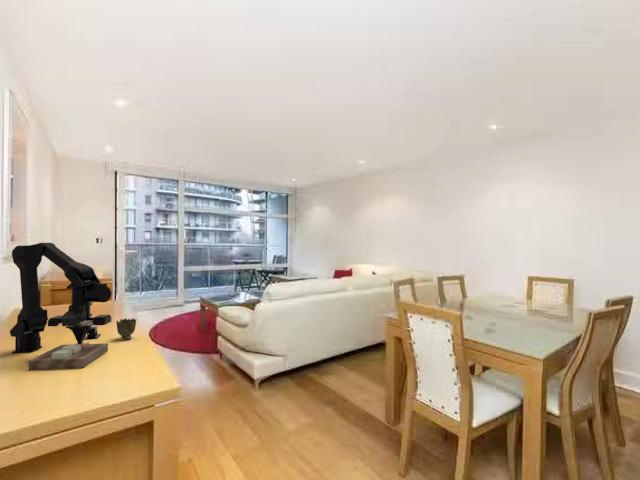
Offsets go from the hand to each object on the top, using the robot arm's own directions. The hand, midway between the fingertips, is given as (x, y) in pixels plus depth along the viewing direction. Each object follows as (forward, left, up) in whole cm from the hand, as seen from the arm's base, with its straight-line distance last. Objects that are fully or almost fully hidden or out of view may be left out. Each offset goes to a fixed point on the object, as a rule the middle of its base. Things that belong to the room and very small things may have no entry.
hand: (80, 343), depth 123 cm
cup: (+8, +19, -4) cm, 22 cm away
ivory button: (0, -6, -2) cm, 6 cm away
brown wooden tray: (0, -6, -4) cm, 7 cm away
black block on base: (-7, +24, -5) cm, 26 cm away
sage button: (0, -11, -2) cm, 11 cm away
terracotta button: (0, 0, -3) cm, 3 cm away
